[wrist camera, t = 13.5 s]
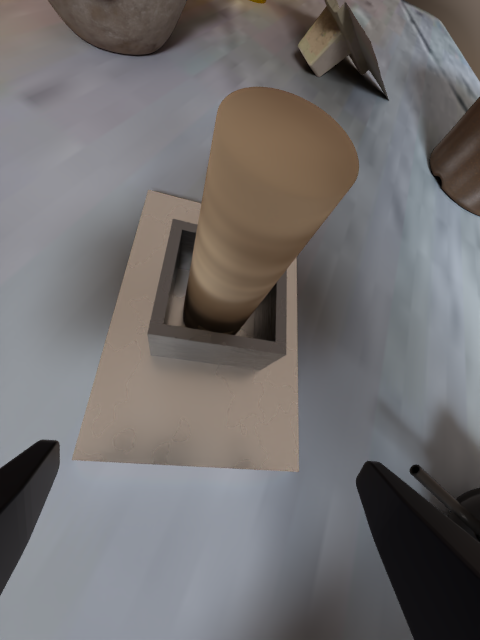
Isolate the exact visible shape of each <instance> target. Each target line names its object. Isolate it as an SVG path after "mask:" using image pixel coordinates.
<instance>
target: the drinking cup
mask: <svg viewBox="0 0 480 640" xmlns="http://www.w3.org/2000/svg"><path fill="white" fill-rule="evenodd" d="M410 473H411V475H413V476H414V477H415V478H416V479H417V480H418V481H419V482H420V483H421V484H422V485H423V486H424V487H426V488H427V489H428V490H429V491H430V492H431V493H432V494H433V495H434V496H435V497H436V498H437V499H438V500H440V501H441V502H442V503H443V504H444V505H445V506H446V507H447V508H448V509H449V510H450V511H451V513H450V514H449V516H448V518H449V519H451V520H452V521H453V522H454V523H456V524H457V525H458V526H459V527H461V528H462V529H463V530H464V531H466V532H467V533H468V534H469V535H470V536H472V537H473V538H474V539H475V540H477V541H478V542H479V543H480V540H479V538H478V536H479V537H480V488H476V489H473V490H471V491H468V492H466V493H464V494H463V495H461V496H459V497H458V498H457V499H455V498H454V497H453V496H452V495H451V494H450V493H448V492H447V491H446V490H445V489H444V488H443V487H442V486H441V485H440V484H439V483H438V482H437V481H435V480H434V479H433V478H432V477H431V476H430V475H429V474H428V473H427V472H426V471H425V470H423V469H422V468H421V467H420V466H419V465H413V466H412V467H411V468H410Z"/></svg>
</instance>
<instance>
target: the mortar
mask: <svg viewBox="0 0 480 640" xmlns="http://www.w3.org/2000/svg"><path fill="white" fill-rule="evenodd" d="M48 1H49V3H50V4H51V5H52V7H53V8H54V9H55V11H56V12H57V13H58V15H59V16H60V17H61V18H62V20H63V21H64V22H65V23H66V24H67V25H68V26H69V27H70V28H71V29H72V30H73V31H74V32H75V33H76V34H77V35H78V36H80V37H81V38H82V39H84V40H85V41H87V42H89V43H90V44H92V45H94V46H97V47H99V48H102V49H105V50H108V51H112V52H117V53H122V54H132V55H140V54H149V53H152V52H155V51H157V50H158V49H159V48H161V47H162V46H163V44H164V43H165V42H166V41H167V39H168V38H169V36H170V35H171V33H172V31H173V30H174V28H175V26H176V24H177V22H178V19H179V17H180V15H181V13H182V10H183V8H184V6H185V3H186V1H187V0H48Z"/></svg>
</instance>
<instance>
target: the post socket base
mask: <svg viewBox="0 0 480 640" xmlns="http://www.w3.org/2000/svg"><path fill="white" fill-rule="evenodd" d="M200 209H201V203H198V202H194V201H190V200H186V199H182V198H178V197H175V196H171V195H167V194H163V193H159V192H155V191H151V190H148V193H147V197H146V200H145V204H144V207H143V211H142V214H141V218H140V221H139V225H138V228H137V232H136V235H135V239H134V242H133V246H132V250H131V253H130V257H129V260H128V264H127V267H126V271H125V274H124V278H123V281H122V285H121V288H120V292H119V295H118V299H117V302H116V306H115V309H114V313H113V316H112V320H111V323H110V327H109V331H108V334H107V338H106V341H105V345H104V348H103V352H102V355H101V359H100V362H99V366H98V369H97V373H96V376H95V380H94V383H93V387H92V390H91V394H90V397H89V401H88V404H87V408H86V412H85V415H84V419H83V422H82V426H81V429H80V433H79V436H78V440H77V443H76V447H75V450H74V454H73V457H72V460H81V461H100V462H119V463H139V464H158V465H177V466H196V467H215V468H234V469H254V470H273V471H292V472H299V437H298V346H297V257H296V258H295V260H294V261H293V262H292V263H291V265H290V266H289V267H288V268H287V270H286V271H285V272H284V274H283V275H282V276H281V277H280V279H279V280H278V281H277V283H276V284H275V285H274V286H273V288H272V289H271V290H270V292H269V293H268V294H267V295H266V297H265V298H264V299H263V300H262V302H261V303H260V304H259V306H258V307H257V308H256V309H255V311H254V312H253V313H252V315H251V316H250V317H249V318H248V320H247V321H246V322H245V324H244V325H243V326H242V327H241V329H240V330H239V331H238V332H237V334H236V335H229V334H223V333H217V332H211V331H204V330H198V329H192V328H187V326H186V324H185V322H184V318H183V307H184V301H185V295H186V290H187V284H188V278H189V272H190V267H191V261H192V255H193V249H194V243H195V238H196V232H197V226H198V220H199V215H200Z"/></svg>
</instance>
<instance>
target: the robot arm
mask: <svg viewBox="0 0 480 640" xmlns="http://www.w3.org/2000/svg"><path fill="white" fill-rule="evenodd" d="M59 464H60V445H59V442H58V441H56V440H40V441H38V442H36V443H35V444H33V445H32V446H31V447H29V448H28V449H26V450H25V451H24V452H22V453H21V454H19V455H18V456H17V457H15V458H14V459H12V460H11V461H10V462H8V463H7V464H6V465H4V466H3V467H1V468H0V595H1V593H2V591H3V589H4V588H5V586H6V584H7V582H8V580H9V578H10V576H11V574H12V572H13V571H14V569H15V567H16V565H17V563H18V561H19V559H20V557H21V555H22V553H23V551H24V549H25V547H26V545H27V543H28V541H29V539H30V537H31V534H32V532H33V530H34V527H35V525H36V523H37V520H38V518H39V515H40V513H41V511H42V508H43V506H44V504H45V501H46V499H47V496H48V494H49V492H50V489H51V487H52V484H53V482H54V480H55V477H56V475H57V472H58V469H59ZM356 486H357V489H358V493H359V496H360V499H361V502H362V505H363V508H364V511H365V514H366V518H367V521H368V524H369V527H370V530H371V533H372V536H373V539H374V542H375V544H376V547H377V550H378V552H379V555H380V557H381V559H382V562H383V564H384V567H385V569H386V572H387V574H388V577H389V579H390V582H391V584H392V587H393V589H394V591H395V594H396V596H397V599H398V601H399V604H400V606H401V609H402V611H403V614H404V616H405V619H406V621H407V623H408V626H409V628H410V631H411V633H412V636H413V638H414V640H480V543H479V542H478V541H477V540H475V539H474V538H473V537H472V536H470V535H469V534H468V533H467V532H466V531H464V530H463V529H462V528H461V527H459V526H458V525H457V524H456V523H454V522H453V521H452V520H451V519H449V518H448V517H447V516H446V515H445V514H443V513H442V512H441V511H440V510H438V509H437V508H436V507H435V506H433V505H432V504H431V503H430V502H428V501H427V500H426V499H425V498H423V497H422V496H421V495H420V494H419V493H417V492H416V491H415V490H414V489H412V488H411V487H410V486H409V485H407V484H406V483H405V482H404V481H402V480H401V479H400V478H399V477H398V476H396V475H395V474H394V473H393V472H391V471H390V470H389V469H388V468H386V467H385V466H384V465H383V464H381V463H380V462H376V461H367V462H365V464H364V465H363V467H362V469H361V471H360V473H359V474H358V476H357V478H356Z"/></svg>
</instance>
